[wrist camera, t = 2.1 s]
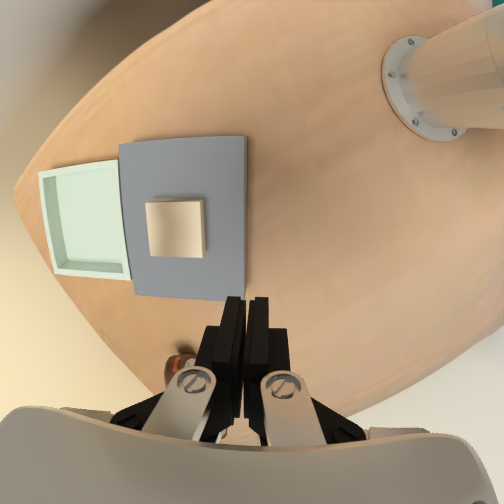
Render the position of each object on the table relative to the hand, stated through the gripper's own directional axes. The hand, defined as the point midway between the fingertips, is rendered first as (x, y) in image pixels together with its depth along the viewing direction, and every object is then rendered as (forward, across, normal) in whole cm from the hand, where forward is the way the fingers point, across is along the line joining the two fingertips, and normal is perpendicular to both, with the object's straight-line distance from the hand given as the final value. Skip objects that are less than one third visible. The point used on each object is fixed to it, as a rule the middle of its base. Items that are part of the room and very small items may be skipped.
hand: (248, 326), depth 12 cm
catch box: (+19, +20, 0) cm, 27 cm away
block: (+15, +7, 0) cm, 17 cm away
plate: (+19, +7, 0) cm, 20 cm away
